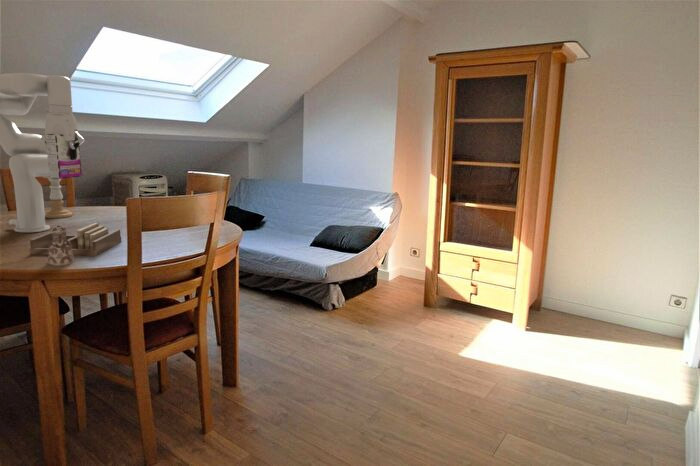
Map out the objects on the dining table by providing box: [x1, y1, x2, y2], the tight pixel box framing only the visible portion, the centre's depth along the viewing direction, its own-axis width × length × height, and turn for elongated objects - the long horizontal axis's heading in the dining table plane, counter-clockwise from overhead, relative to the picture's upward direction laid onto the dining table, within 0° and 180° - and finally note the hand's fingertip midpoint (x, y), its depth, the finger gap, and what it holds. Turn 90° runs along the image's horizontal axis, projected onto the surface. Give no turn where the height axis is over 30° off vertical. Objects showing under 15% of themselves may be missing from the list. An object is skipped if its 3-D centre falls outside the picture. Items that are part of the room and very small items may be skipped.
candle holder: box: [41, 176, 73, 219], centre depth 225 cm, size 12×12×20 cm
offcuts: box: [76, 222, 109, 250], centre depth 172 cm, size 5×14×8 cm, turn 5°
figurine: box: [47, 225, 75, 267], centre depth 152 cm, size 7×7×12 cm
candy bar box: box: [44, 133, 83, 180], centre depth 178 cm, size 11×5×16 cm, turn 169°
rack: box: [29, 227, 122, 257], centre depth 172 cm, size 22×22×5 cm
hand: (64, 158), depth 178 cm, fingers closed on candy bar box, 5 cm apart
